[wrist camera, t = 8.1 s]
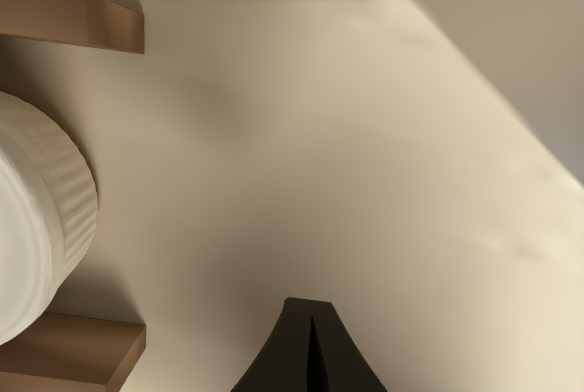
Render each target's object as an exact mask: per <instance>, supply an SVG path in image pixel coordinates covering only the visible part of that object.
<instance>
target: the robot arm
mask: <svg viewBox="0 0 584 392" xmlns="http://www.w3.org/2000/svg"><path fill="white" fill-rule="evenodd" d="M230 392H388V391H387V390H386V388H385V387H384V386H383V385H382V383H381V382H380V380H379V379H378V378H377V376H376V375H375V374H374V372H373V371H372V369H371V368H370V366H369V365H368V364H367V362H366V361H365V359H364V358H363V356H362V354H361V353H360V351H359V350H358V348H357V347H356V345H355V344H354V342H353V340H352V339H351V337H350V335H349V334H348V332H347V330H346V328H345V327H344V325H343V323H342V321H341V319H340V318H339V316H338V314H337V312H336V310H335V308H334V306H333V305H332V304H331V302H323V301H315V300H307V299H300V298H292V297H289V298H287V299H286V300H285V301H284V306H283V309H282V312H281V315H280V317H279V319H278V321H277V323H276V325H275V327H274V329H273V331H272V333H271V334H270V336H269V338H268V340H267V341H266V343H265V345H264V346H263V348H262V349H261V351H260V352H259V354H258V355H257V357H256V358H255V360H254V361H253V363H252V364H251V366H250V367H249V368H248V370H247V371H246V372H245V374H244V375H243V376H242V378H241V379H240V380H239V382H238V383H237V384H236V385H235V386H234V388H233V389H232V390H231V391H230Z"/></svg>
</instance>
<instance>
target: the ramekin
mask: <svg viewBox="0 0 584 392" xmlns="http://www.w3.org/2000/svg"><path fill="white" fill-rule="evenodd" d="M98 209H99V207H98V196H97V193H96V188H95V183H94V180H93V178H92V175H91V171H90V169H89V167H88V166H87V164H86V161H85V159H84V157H83V156H82V155H81V153H80V152H79V150H78V148H77V146H76V145H75V144H74V143H73V142H72V140H71V139H70V138H69V136H68V135H67V134H66V133H65V132H64V131H63V130H62V129H61V128H60V127H59V126H58V125H57V124H56V123H55V122H54V121H53V120H51V119H50V118H49V117H48V116H47V115H46V114H45V113H43V112H42V111H40V110H39V109H37V108H36V107H34V106H33V105H31V104H29V103H27V102H24V101H22V100H21V99H19V98H18V97H16V96H13V95H9V94H6V93H4V92H2V91H0V345H1V344H3V343H5V342H7V341H9V340H10V339H12V338H14V337H15V336H17V335H18V334H19V333H20V332H22V331H23V330H24V329H26V328H27V327H28V326H29V325H30V324H31V323H33V322H34V321H35V320H36V319H37V318H38V317H39V316H40V315H41V314H42V313H43V312H44V310H45V309H46V308H47V306H48V305H49V304H50V302H51V301H52V299H53V297H54V295H55V293H56V291H57V289H58V288H59V286H60V285H61V284H62V283H63V281H64V280H65V279H66V278H67V277H68V275H69V274H70V273H71V272H72V271H73V269H74V268H75V267H76V266H77V265H78V263H79V262H80V261H81V259H82V258H83V257H84V256H85V254H86V253H87V251H88V248H89V247H90V245H91V243H92V240H93V236H94V234H95V232H96V224H97V221H98Z"/></svg>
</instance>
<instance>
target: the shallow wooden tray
mask: <svg viewBox="0 0 584 392" xmlns="http://www.w3.org/2000/svg"><path fill="white" fill-rule="evenodd" d="M0 35H2V36H10V37H17V38H25V39H32V40H40V41H47V42H55V43H63V44H70V45H78V46H85V47H93V48H100V49H108V50H115V51H123V52H130V53H138V54H144V15H141V14H139V13H137V12H134V11H132V10H130V9H127V8H125V7H122V6H120V5H118V4H115V3H113V2H111V1H108V0H0ZM145 348H146V326H145V325H138V324H130V323H122V322H115V321H107V320H100V319H92V318H85V317H77V316H69V315H62V314H54V313H47V312H43V313H42V314H41V315H40V316H39V317H38V318H37V319H36V320H35V321H34V322H33V323H31V324H30V325H29V326H28V327H27V328H26V329H24V330H23V331H22V332H20V333H19V334H18V335H17V336H15V337H14V338H12V339H10V340H9V341H7V342H5V343H3V344H1V345H0V392H119V391H120V389H121V387H122V386H123V384H124V382H125V381H126V379H127V377H128V376H129V374H130V373H131V371H132V369H133V368H134V366H135V364H136V363H137V361H138V359H139V358H140V356H141V355H142V353H143V351H144V350H145Z"/></svg>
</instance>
